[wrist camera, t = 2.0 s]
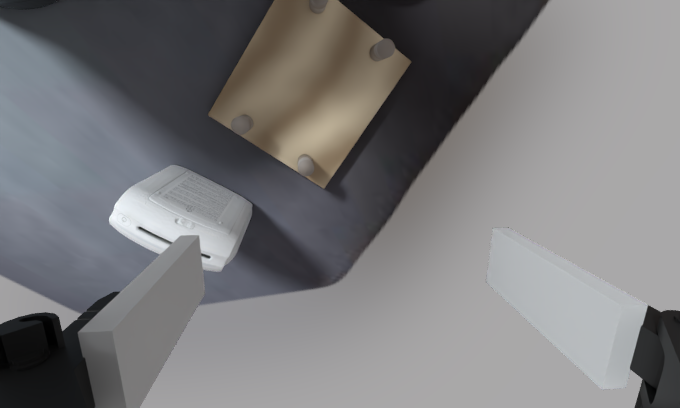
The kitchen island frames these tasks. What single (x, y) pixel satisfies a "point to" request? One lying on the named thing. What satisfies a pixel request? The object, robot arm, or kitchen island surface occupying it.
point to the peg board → (309, 85)
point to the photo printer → (184, 214)
